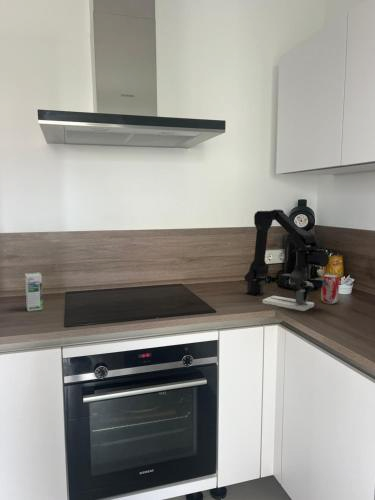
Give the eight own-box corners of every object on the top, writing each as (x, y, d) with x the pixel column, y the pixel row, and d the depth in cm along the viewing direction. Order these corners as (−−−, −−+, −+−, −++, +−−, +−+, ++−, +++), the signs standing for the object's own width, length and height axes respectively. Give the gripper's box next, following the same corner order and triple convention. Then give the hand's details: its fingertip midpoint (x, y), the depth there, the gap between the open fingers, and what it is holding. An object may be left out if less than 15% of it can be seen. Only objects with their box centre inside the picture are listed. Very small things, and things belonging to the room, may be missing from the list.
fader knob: (295, 302, 161) (295, 291, 160) (300, 300, 165) (300, 289, 164) (302, 304, 159) (302, 292, 159) (307, 301, 163) (307, 290, 162)
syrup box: (27, 311, 152) (26, 275, 150) (26, 307, 157) (24, 272, 155) (43, 309, 154) (41, 274, 153) (41, 306, 160) (39, 271, 158)
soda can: (319, 303, 169) (321, 276, 168) (322, 299, 175) (323, 273, 174) (336, 305, 166) (338, 277, 164) (338, 301, 172) (340, 275, 171)
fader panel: (262, 303, 168) (262, 299, 168) (273, 298, 176) (273, 295, 176) (304, 311, 156) (304, 307, 156) (314, 306, 164) (314, 302, 164)
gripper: (273, 263, 160) (272, 300, 162) (317, 268, 148) (315, 308, 150) (285, 260, 168) (284, 295, 170) (328, 265, 156) (326, 302, 158)
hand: (301, 300), depth 162 cm, fingers closed on fader knob, 3 cm apart
